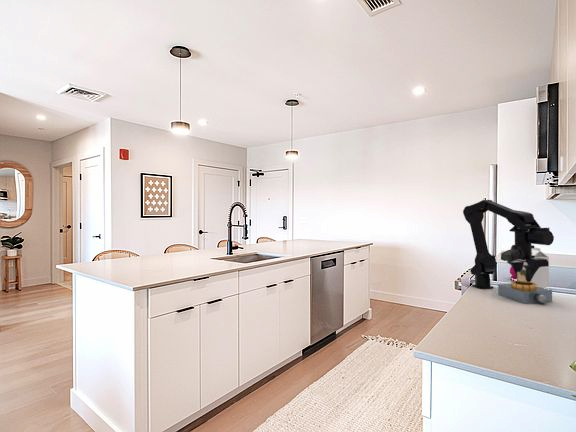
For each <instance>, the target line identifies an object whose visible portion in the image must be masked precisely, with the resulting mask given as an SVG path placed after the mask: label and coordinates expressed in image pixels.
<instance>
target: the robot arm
mask: <svg viewBox="0 0 576 432" xmlns="http://www.w3.org/2000/svg"><path fill="white" fill-rule="evenodd" d="M488 211H489V212H491V213H493V214H495V215H498V216H500V217H502V218H504V219H506V220H507V222H508V223H509V224H511V225H512V228H510V229H509V232H514V244H512V245H511V247H512V249H511V248H510V249H508V250H505V251H502V252H501V253H500V260H501V261H503V262H505V261H506V263H507V264H509V265H510V267H511V266H512V267H513V269H514V272H515V274H516V277H517V271H520V270H521V269H523V267H524V268H525V269H526V278H527V282H530V281H531V279H532V278H533V276H534V274H535V273H536V271H537V270H538V269H539V267H546V266H549V267H550V265H549V264H550V261H548V260H547V259H543V258H534V255H532V248H534V247H535V245H540V246H541V245H543V246H550V245H552V244H553V242H554V239H555V236H554V234H553V232H552V231H550V230H551V229H550V227H541V225H540V224H539V223H538V222H537V220H536V219H535V216H534V214H533V213H531V212H529V211H521V210H517V209H512V208H510V207H507V206H505V205H503V204H500V203H498V202H495V201H494V200H492V199H482V200H481V201H479V202H478V201H477V202H476V203H473V204H471V205H466V206H464V209H463V210H462V214H463V217H464V220H465V221H466V222H468V224H469V226H470V230H471V234H472V238H473V243H474V247H475V252H476V254H475V257H474V265H473V266H472V267H471V269H470V273H471V275H473V276H474V283H473V284H472V287H475V288H478V289H481V290H482V289H484V290H485V289H493V288H494V286H492V285H491V275H494V274H495V273H494V272H495V271H496V269H497V265H498V262H497V260H496V256H495V255H492V254H491V253H490V252H489V248H488V245H487V244H488V243H487V239H486V235H485V231H484V226H483V220H484V216H485V215H484V214H485V213H487V212H488ZM532 244H533V245H532ZM521 261H522V262H521ZM524 262H526V263H527V265H524Z"/></svg>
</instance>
